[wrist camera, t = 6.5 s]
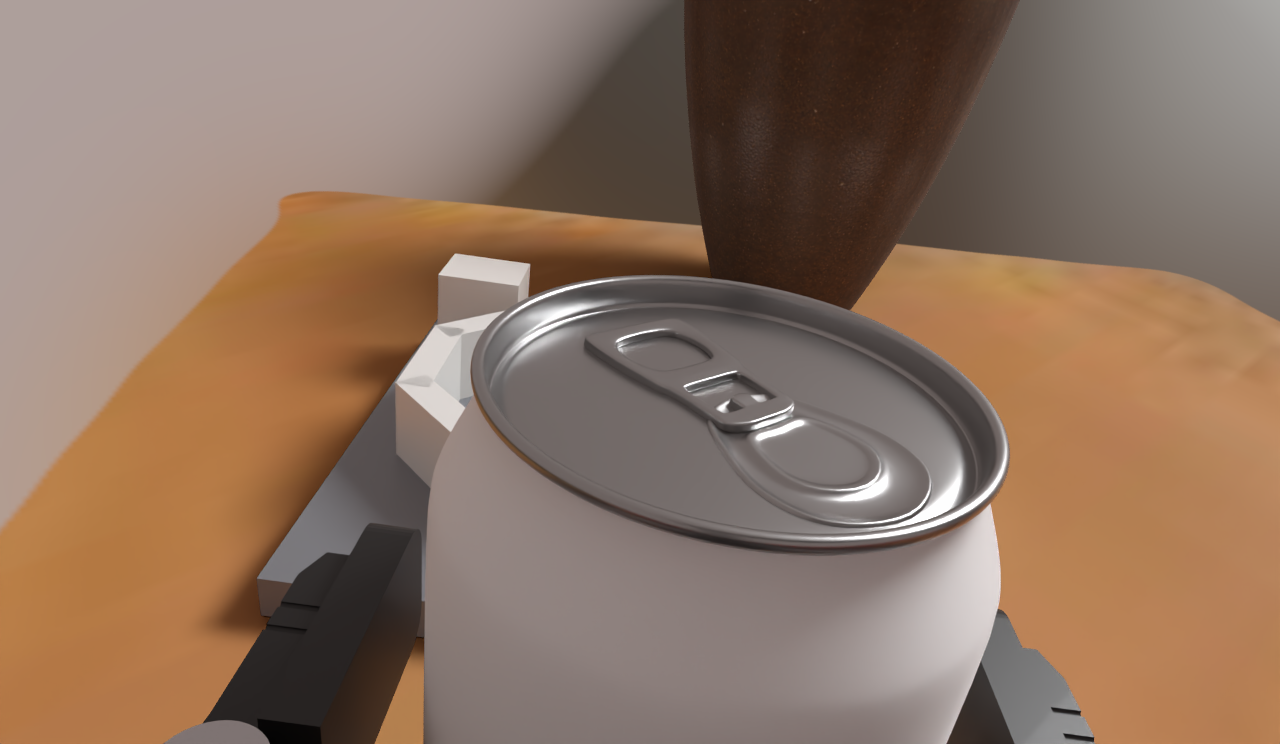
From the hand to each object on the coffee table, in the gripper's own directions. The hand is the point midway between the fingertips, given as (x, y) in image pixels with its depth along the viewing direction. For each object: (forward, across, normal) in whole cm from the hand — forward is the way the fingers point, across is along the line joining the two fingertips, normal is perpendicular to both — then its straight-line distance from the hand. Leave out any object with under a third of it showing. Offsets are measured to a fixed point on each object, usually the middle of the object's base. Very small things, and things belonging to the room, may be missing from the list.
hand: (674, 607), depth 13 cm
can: (-2, 0, +7) cm, 7 cm away
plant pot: (+32, -6, +7) cm, 34 cm away
